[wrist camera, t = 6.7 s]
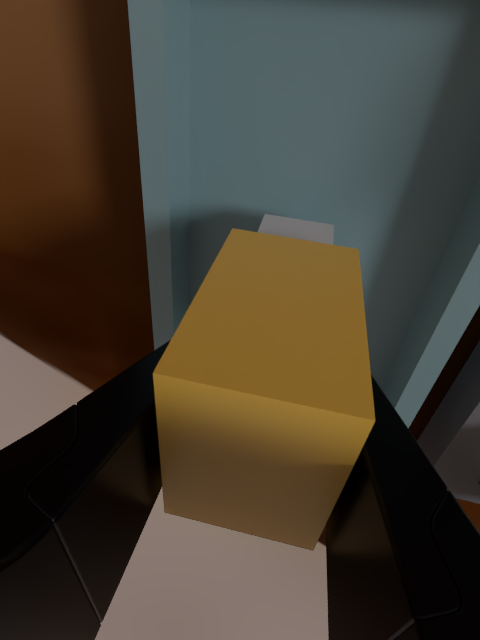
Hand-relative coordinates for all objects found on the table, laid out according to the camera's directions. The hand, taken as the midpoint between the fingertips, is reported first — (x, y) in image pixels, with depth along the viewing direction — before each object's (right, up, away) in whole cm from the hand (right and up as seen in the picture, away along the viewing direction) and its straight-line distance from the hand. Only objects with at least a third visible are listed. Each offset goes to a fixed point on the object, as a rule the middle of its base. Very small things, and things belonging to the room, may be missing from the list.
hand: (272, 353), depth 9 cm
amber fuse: (+1, +2, +3) cm, 4 cm away
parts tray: (+2, +3, +5) cm, 6 cm away
